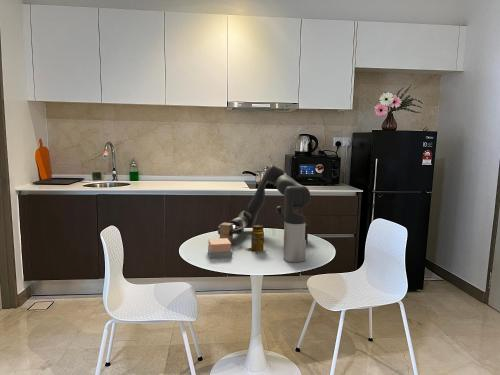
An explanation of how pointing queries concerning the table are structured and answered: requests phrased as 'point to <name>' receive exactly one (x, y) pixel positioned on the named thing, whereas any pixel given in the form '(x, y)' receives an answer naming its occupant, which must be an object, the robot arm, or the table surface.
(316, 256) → the table surface
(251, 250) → the condiment
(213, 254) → the tower bottom
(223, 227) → the tall block
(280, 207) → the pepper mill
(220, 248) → the tower top
